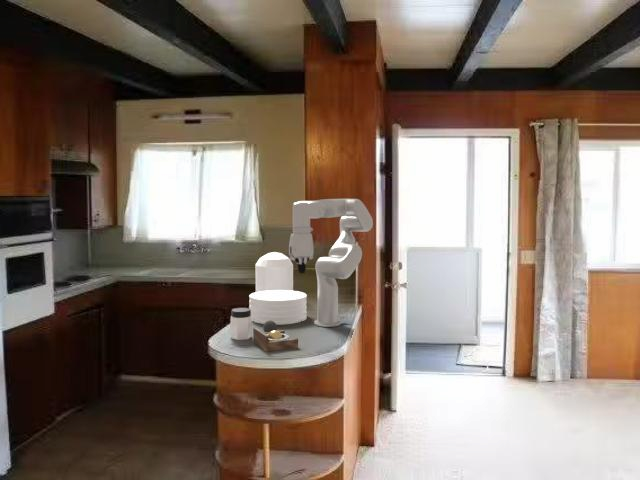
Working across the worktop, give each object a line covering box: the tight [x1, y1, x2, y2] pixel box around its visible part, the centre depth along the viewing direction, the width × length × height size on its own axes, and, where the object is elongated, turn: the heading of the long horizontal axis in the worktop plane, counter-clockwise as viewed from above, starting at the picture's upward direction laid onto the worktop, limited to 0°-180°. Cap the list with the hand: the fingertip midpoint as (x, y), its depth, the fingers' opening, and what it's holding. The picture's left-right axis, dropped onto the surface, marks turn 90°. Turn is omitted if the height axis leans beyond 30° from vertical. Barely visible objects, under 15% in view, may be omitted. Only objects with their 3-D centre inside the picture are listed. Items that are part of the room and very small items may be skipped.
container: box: [254, 251, 294, 292], centre depth 312 cm, size 21×21×28 cm
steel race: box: [266, 333, 290, 342], centre depth 225 cm, size 11×11×4 cm
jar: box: [230, 307, 253, 341], centre depth 236 cm, size 9×8×12 cm
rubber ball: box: [262, 320, 278, 333], centre depth 242 cm, size 6×6×6 cm
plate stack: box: [248, 290, 308, 325], centre depth 273 cm, size 28×28×12 cm
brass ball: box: [268, 330, 282, 339], centre depth 224 cm, size 6×6×6 cm
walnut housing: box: [252, 327, 299, 352], centre depth 225 cm, size 14×15×6 cm
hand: (301, 272), depth 242 cm, fingers closed
